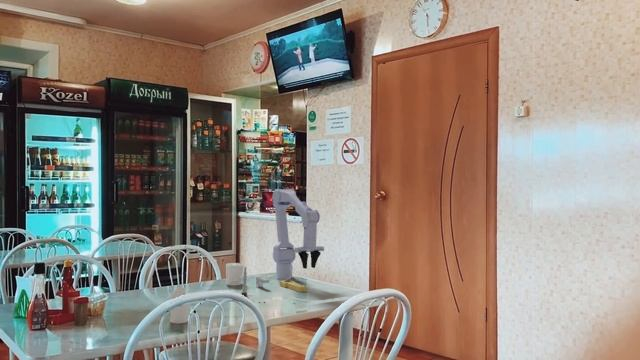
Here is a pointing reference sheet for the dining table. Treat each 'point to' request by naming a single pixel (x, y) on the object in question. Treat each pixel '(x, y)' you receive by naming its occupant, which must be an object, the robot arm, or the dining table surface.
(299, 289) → the link
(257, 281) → the keeper
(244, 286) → the tow hook
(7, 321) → the dining table surface
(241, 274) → the white cup
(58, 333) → the dining table surface
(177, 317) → the roll
